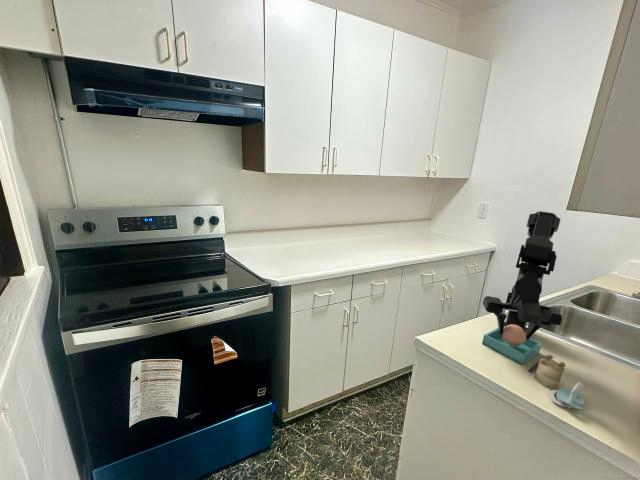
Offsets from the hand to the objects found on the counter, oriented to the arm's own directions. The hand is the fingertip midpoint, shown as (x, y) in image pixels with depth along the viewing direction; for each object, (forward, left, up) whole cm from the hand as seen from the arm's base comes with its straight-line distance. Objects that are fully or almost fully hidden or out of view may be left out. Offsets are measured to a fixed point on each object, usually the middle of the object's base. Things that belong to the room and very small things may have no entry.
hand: (513, 336), depth 92 cm
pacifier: (+11, +17, -4) cm, 21 cm away
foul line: (0, +8, -4) cm, 9 cm away
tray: (0, 0, -4) cm, 4 cm away
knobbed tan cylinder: (+7, +12, -4) cm, 14 cm away
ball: (0, 0, 0) cm, 0 cm away
